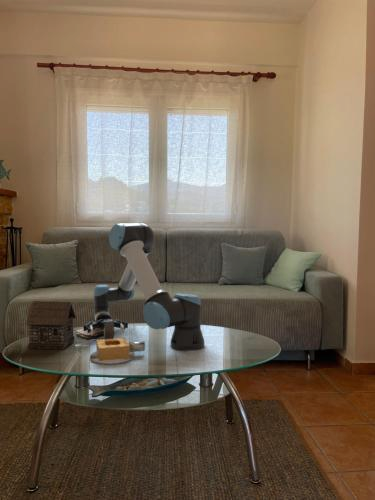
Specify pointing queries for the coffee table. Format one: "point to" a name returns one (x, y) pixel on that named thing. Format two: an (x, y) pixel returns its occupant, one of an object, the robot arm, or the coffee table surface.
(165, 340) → the coffee table surface
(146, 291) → the robot arm
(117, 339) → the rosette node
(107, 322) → the wedge pin
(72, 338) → the model building
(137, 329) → the coffee table surface
